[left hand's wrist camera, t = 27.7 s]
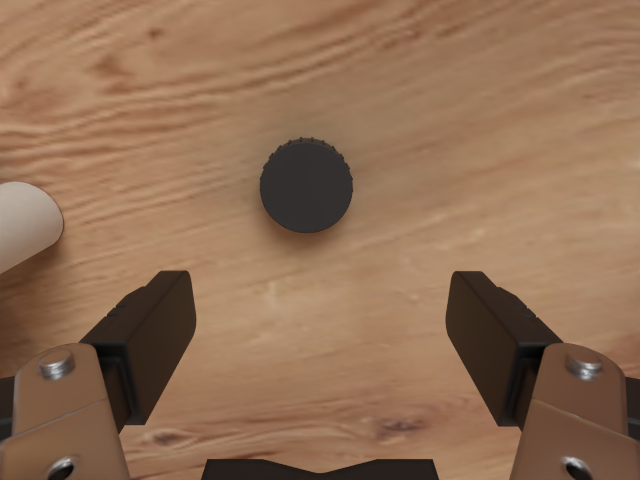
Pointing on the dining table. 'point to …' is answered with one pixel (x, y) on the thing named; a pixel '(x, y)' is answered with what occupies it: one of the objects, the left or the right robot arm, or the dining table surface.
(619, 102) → the dining table surface
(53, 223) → the bottle
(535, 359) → the left robot arm
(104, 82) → the dining table surface
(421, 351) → the dining table surface
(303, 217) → the lid
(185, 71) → the dining table surface
